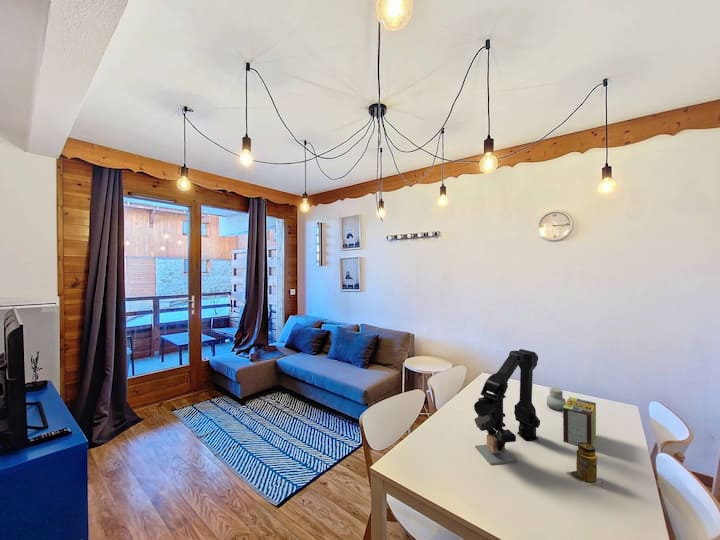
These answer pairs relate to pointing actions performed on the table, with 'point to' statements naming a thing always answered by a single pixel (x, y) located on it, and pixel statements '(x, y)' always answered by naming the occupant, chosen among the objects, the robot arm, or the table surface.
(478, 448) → the slate pad
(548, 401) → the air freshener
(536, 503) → the table surface
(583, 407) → the protein box
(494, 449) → the walnut cube
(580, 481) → the condiment
